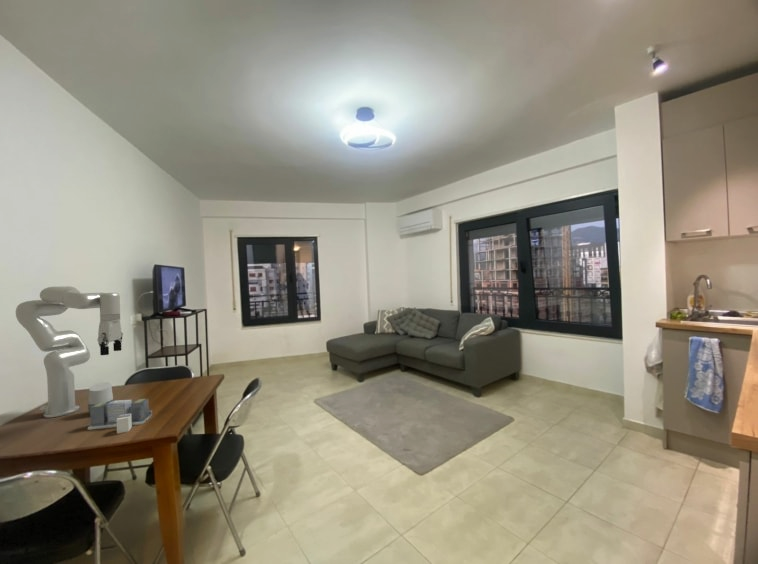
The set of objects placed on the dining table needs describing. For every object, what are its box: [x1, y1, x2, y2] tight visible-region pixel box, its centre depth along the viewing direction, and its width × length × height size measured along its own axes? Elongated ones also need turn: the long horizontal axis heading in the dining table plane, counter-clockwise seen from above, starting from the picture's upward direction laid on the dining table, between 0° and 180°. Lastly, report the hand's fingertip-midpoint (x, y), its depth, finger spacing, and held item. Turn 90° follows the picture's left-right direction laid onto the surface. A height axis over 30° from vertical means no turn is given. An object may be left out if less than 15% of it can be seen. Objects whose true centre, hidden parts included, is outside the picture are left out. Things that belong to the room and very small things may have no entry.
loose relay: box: [116, 414, 133, 434], centre depth 135 cm, size 4×5×6 cm
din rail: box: [87, 398, 153, 431], centre depth 143 cm, size 21×9×10 cm, turn 101°
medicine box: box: [107, 399, 133, 423], centre depth 143 cm, size 8×4×9 cm, turn 93°
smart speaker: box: [87, 381, 114, 414], centre depth 156 cm, size 10×9×14 cm
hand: (111, 352), depth 153 cm, fingers open, 9 cm apart
